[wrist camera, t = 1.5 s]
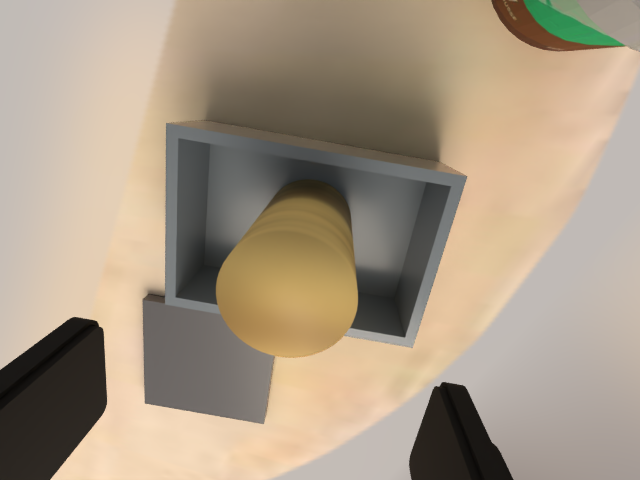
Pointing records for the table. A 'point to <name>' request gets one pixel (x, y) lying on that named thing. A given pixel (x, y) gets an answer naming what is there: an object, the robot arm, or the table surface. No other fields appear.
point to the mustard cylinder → (293, 274)
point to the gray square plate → (202, 364)
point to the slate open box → (298, 164)
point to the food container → (572, 23)
